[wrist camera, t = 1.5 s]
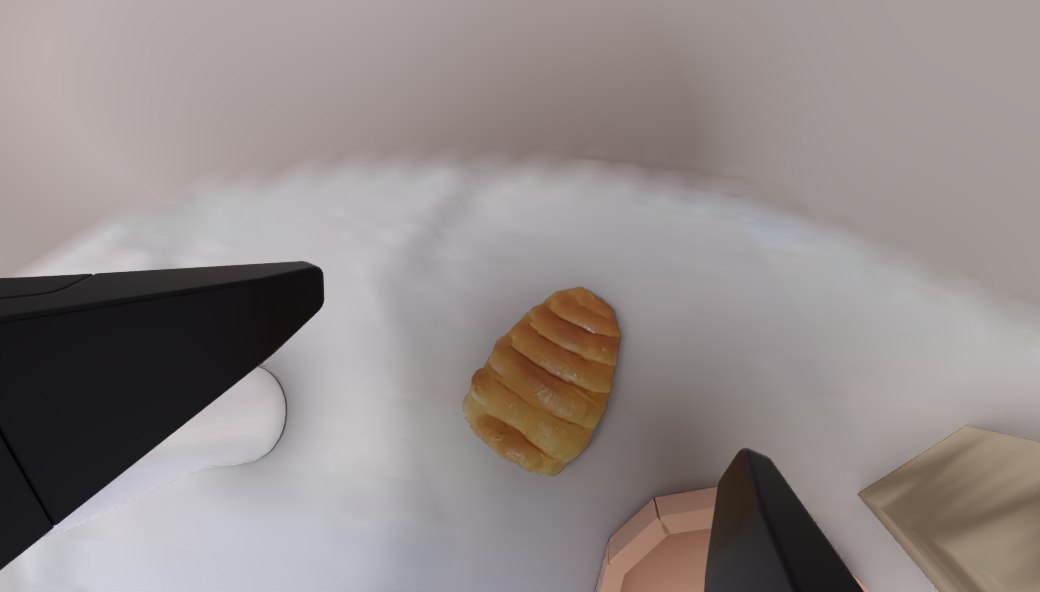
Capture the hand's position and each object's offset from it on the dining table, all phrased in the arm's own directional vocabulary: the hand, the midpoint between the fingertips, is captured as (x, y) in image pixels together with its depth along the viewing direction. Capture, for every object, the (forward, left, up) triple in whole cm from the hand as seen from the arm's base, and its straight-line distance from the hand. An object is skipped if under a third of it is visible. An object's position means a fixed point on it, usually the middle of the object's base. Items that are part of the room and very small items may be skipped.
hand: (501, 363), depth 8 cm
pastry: (-2, +1, -16) cm, 16 cm away
